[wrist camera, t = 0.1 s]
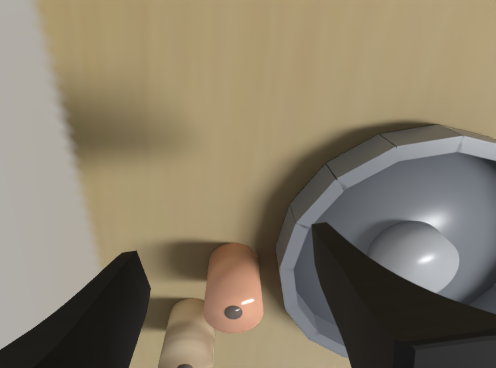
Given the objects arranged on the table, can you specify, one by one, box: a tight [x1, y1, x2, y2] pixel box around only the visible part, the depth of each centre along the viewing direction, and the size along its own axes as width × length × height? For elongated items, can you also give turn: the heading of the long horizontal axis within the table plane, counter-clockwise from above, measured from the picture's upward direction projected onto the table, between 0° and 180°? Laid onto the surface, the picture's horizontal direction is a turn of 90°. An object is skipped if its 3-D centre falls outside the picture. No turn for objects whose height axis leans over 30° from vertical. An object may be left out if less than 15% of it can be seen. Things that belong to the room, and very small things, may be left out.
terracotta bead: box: [203, 243, 263, 333], centre depth 23 cm, size 4×4×5 cm
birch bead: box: [158, 298, 215, 368], centre depth 26 cm, size 4×4×5 cm
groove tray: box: [275, 124, 496, 358], centre depth 24 cm, size 20×20×3 cm
